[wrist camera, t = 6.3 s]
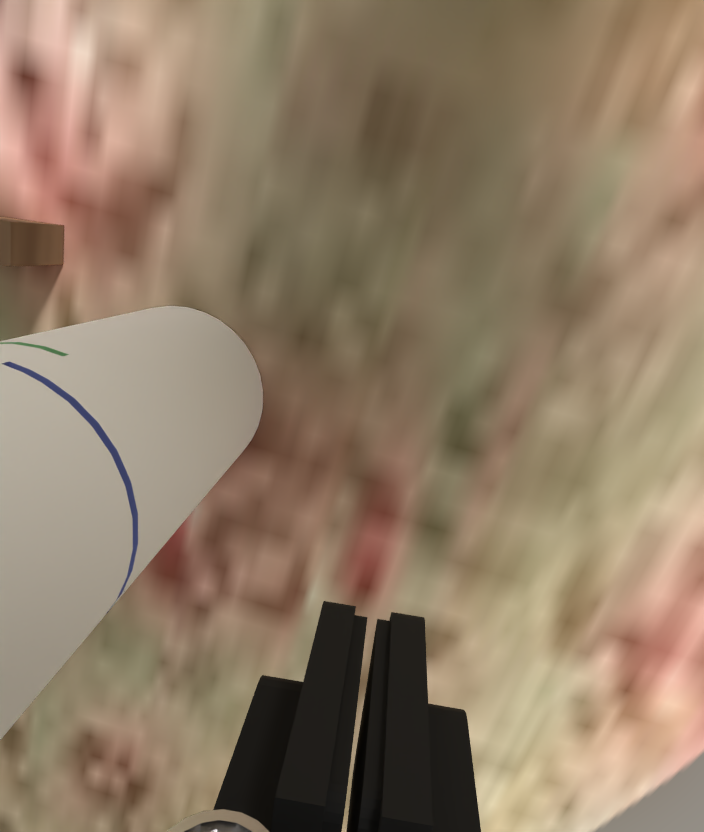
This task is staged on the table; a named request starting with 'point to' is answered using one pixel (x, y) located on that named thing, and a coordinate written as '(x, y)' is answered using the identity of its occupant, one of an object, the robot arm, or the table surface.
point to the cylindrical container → (105, 469)
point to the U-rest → (30, 243)
